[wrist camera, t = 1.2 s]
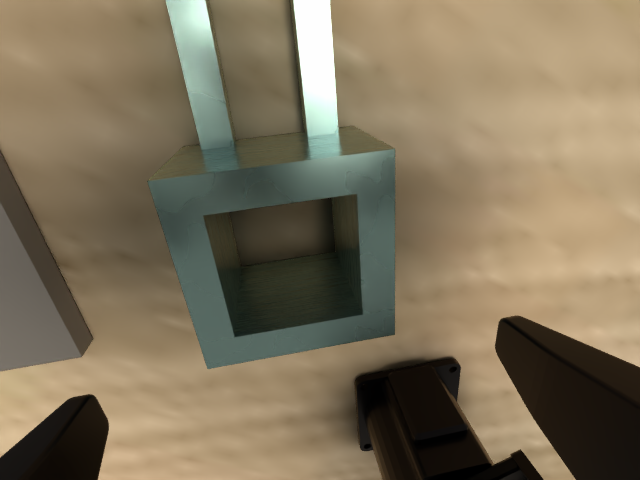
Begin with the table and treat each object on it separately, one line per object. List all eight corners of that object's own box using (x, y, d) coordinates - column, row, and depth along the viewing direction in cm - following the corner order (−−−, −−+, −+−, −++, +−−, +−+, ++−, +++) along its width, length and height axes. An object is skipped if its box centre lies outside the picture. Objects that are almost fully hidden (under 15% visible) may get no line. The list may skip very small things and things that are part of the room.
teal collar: (360, 268, 18) (394, 334, 13) (221, 291, 17) (207, 369, 13) (346, -20, 12) (395, -72, 8) (143, -4, 12) (73, -51, 7)
